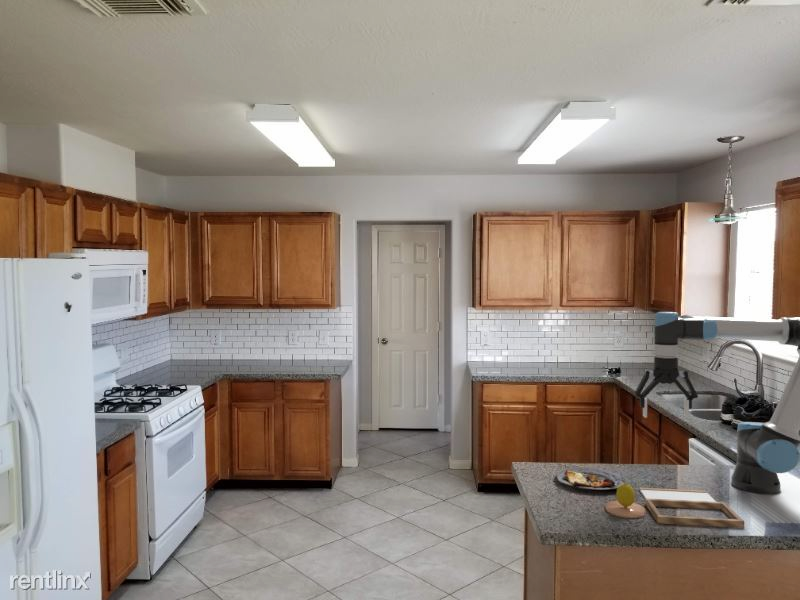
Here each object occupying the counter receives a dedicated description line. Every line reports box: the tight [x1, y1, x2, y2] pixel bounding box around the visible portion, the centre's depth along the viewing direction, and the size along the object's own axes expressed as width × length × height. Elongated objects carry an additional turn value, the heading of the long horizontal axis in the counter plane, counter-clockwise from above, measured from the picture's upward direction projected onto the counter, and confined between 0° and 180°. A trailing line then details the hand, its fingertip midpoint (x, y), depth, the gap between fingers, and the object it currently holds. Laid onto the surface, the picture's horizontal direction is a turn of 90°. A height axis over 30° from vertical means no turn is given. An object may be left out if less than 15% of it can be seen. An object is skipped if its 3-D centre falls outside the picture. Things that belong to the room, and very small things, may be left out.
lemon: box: [615, 482, 636, 508], centre depth 189 cm, size 6×6×8 cm
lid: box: [638, 487, 717, 502], centre depth 199 cm, size 22×13×1 cm, turn 81°
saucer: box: [605, 500, 646, 519], centre depth 189 cm, size 12×12×1 cm
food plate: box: [556, 466, 625, 491], centre depth 216 cm, size 25×23×4 cm
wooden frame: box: [644, 498, 745, 529], centre depth 185 cm, size 24×16×2 cm, turn 81°
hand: (665, 417), depth 204 cm, fingers open, 13 cm apart
